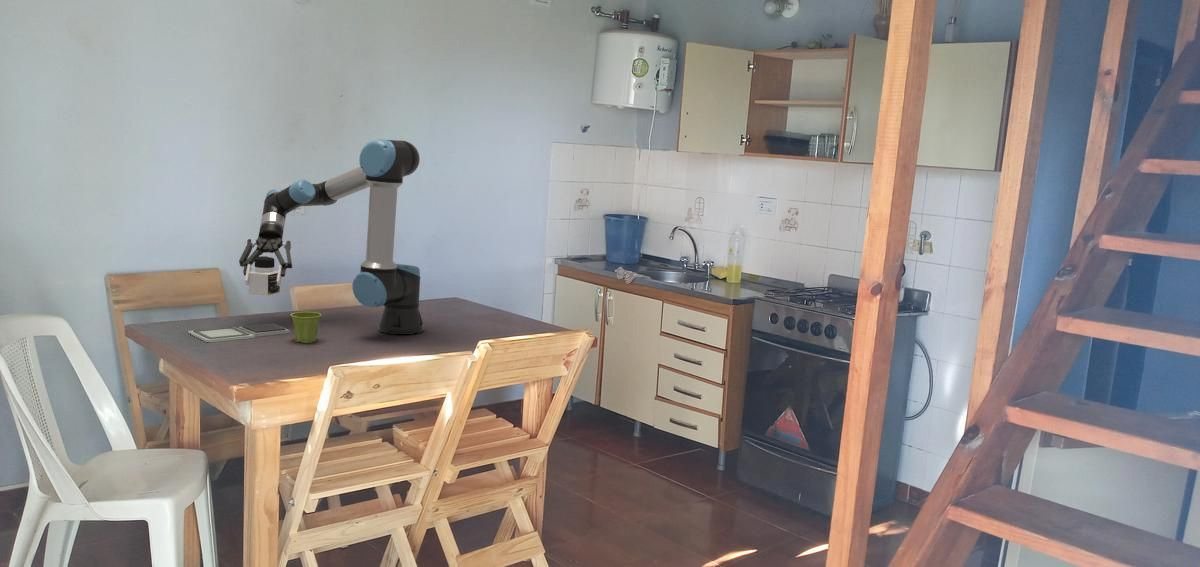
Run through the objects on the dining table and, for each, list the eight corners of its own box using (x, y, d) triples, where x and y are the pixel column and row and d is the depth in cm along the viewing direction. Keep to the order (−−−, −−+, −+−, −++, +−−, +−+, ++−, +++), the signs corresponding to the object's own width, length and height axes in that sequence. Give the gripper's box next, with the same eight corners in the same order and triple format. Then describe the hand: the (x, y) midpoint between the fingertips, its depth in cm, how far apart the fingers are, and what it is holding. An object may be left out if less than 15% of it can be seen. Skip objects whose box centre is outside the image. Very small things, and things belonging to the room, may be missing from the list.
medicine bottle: (268, 295, 297) (268, 258, 295) (248, 293, 298) (248, 257, 296) (280, 292, 303) (280, 256, 302) (260, 290, 305) (260, 254, 303)
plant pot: (292, 345, 286) (293, 317, 285) (287, 338, 295) (288, 312, 293) (323, 343, 291) (324, 316, 289) (318, 337, 299) (318, 311, 298)
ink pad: (289, 333, 302) (289, 329, 302) (254, 336, 294) (254, 332, 294) (273, 326, 311) (273, 322, 311) (238, 329, 302) (238, 325, 302)
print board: (254, 337, 293) (254, 334, 293) (206, 342, 282) (206, 339, 282) (234, 329, 303) (234, 325, 303) (187, 333, 293) (187, 330, 293)
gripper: (306, 237, 315) (298, 291, 302) (239, 234, 311) (228, 289, 298) (304, 223, 309) (296, 277, 296) (236, 220, 305) (225, 275, 292)
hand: (262, 283), depth 297 cm, fingers closed on medicine bottle, 9 cm apart
